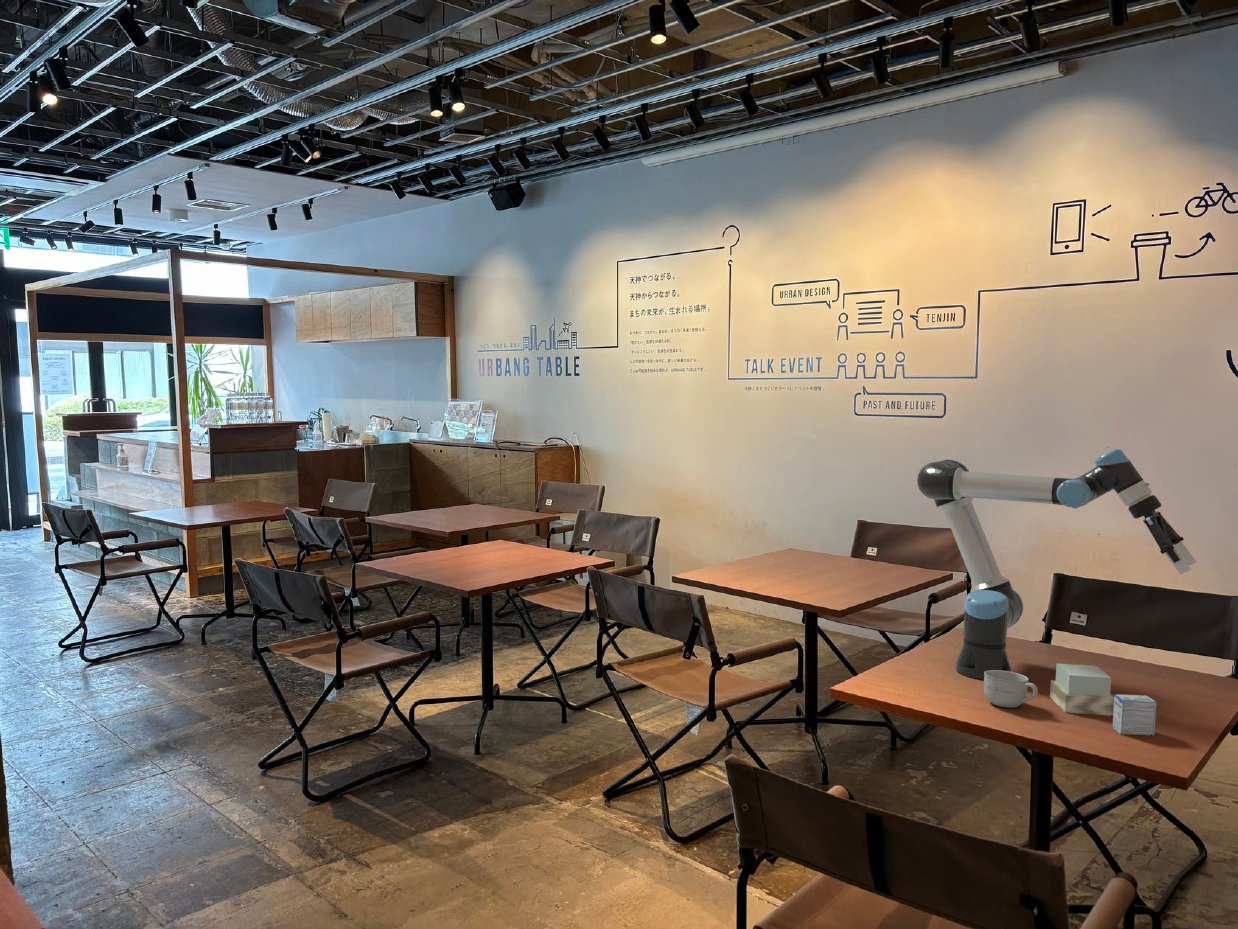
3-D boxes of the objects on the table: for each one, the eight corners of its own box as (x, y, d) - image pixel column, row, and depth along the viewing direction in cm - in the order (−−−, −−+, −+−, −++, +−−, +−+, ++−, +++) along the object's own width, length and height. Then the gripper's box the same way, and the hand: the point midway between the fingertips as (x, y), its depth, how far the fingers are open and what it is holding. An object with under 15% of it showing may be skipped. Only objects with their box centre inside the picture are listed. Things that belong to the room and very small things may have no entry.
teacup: (973, 700, 233) (975, 670, 233) (1003, 695, 237) (1005, 666, 237) (1015, 718, 220) (1017, 687, 220) (1046, 712, 225) (1048, 682, 224)
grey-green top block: (1068, 694, 225) (1069, 675, 225) (1055, 681, 235) (1056, 663, 235) (1110, 696, 224) (1111, 677, 223) (1095, 684, 234) (1096, 665, 233)
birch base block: (1064, 714, 225) (1066, 695, 225) (1049, 698, 237) (1050, 680, 236) (1114, 717, 223) (1116, 698, 223) (1097, 701, 235) (1098, 683, 234)
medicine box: (1145, 729, 214) (1147, 695, 213) (1154, 736, 210) (1157, 701, 209) (1111, 728, 215) (1113, 693, 214) (1120, 735, 210) (1122, 700, 210)
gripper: (1146, 497, 229) (1197, 568, 223) (1159, 489, 248) (1207, 555, 242) (1119, 511, 233) (1168, 582, 227) (1134, 503, 252) (1180, 567, 246)
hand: (1188, 568), depth 234 cm, fingers open, 13 cm apart
